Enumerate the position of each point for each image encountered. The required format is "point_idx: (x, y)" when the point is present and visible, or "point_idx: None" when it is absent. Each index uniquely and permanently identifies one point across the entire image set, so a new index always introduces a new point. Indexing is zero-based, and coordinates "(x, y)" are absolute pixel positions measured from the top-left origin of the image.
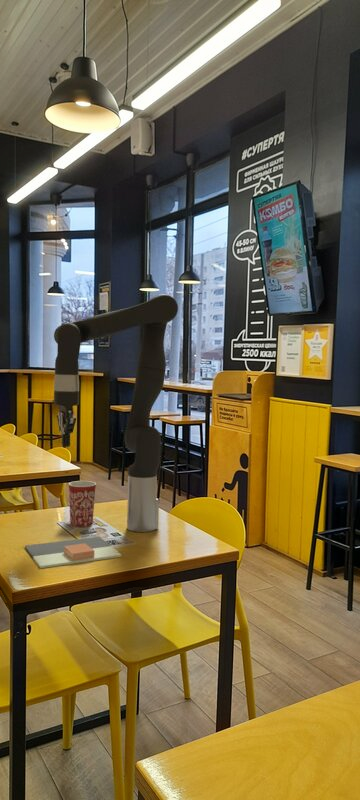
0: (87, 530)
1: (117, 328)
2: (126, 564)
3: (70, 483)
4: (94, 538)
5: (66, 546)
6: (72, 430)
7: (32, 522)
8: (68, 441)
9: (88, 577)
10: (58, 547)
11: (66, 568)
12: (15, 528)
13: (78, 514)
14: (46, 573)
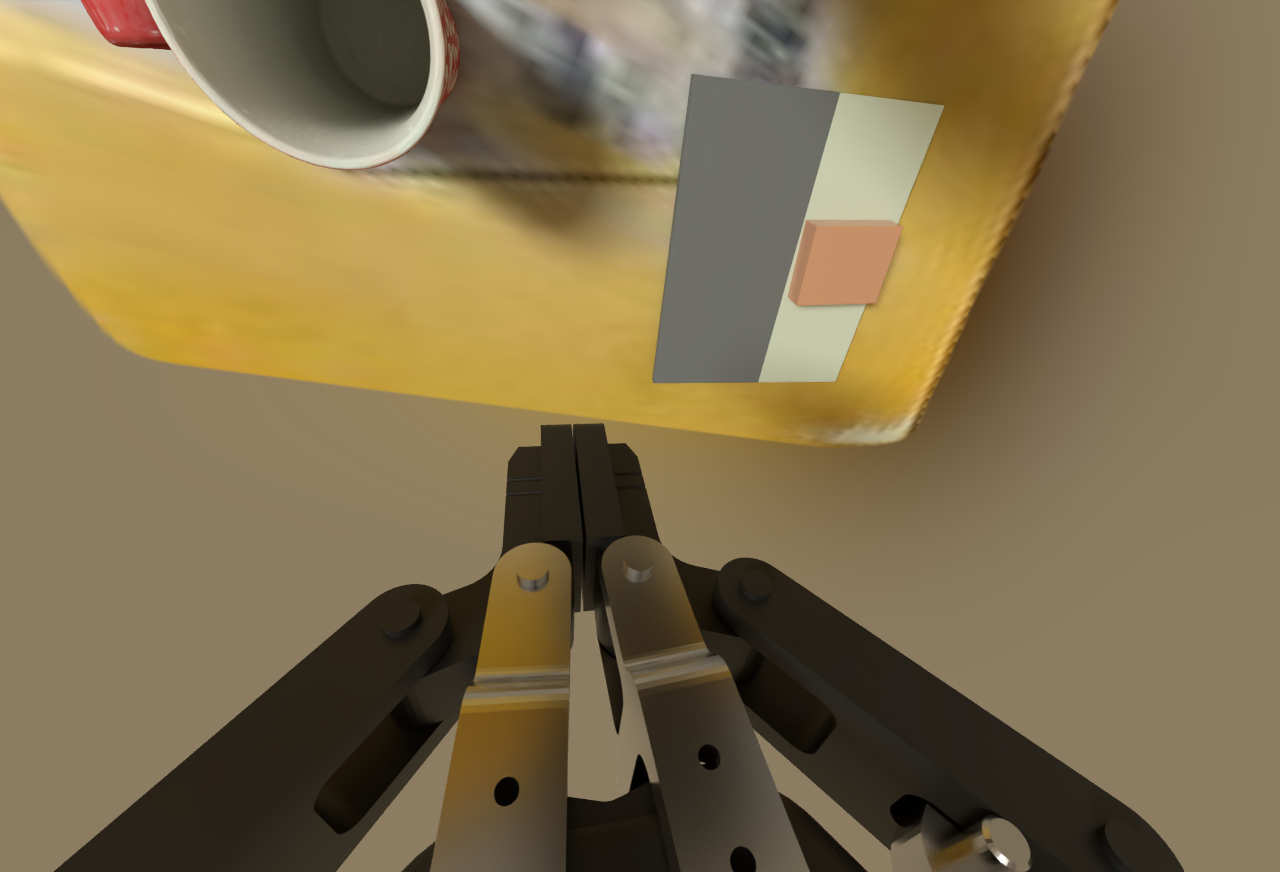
0: (534, 66)
1: None
2: (1002, 129)
3: (263, 126)
4: (708, 114)
5: (803, 298)
6: (810, 602)
7: (311, 283)
8: (642, 485)
9: (973, 290)
10: (728, 296)
11: (880, 320)
12: (404, 365)
13: (448, 93)
14: (870, 373)
